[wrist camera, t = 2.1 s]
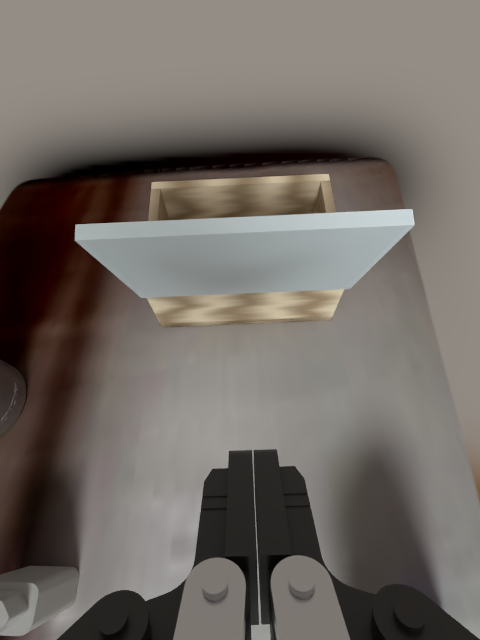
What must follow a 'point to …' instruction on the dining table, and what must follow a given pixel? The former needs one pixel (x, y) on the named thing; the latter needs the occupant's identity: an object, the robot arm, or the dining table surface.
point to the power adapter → (35, 596)
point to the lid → (245, 251)
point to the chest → (243, 202)
